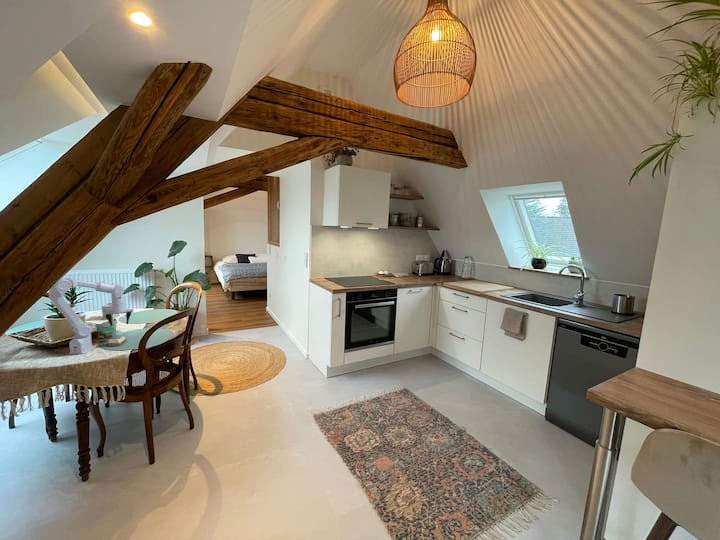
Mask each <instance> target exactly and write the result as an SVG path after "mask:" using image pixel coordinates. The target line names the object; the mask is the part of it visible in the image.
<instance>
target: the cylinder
mask: <svg viewBox="0 0 720 540" xmlns="http://www.w3.org/2000/svg"><path fill="white" fill-rule="evenodd" d="M121 337H123V335H122V331H121V330H116V331H113V332H112V337H111V338H112V339H119V338H121Z"/></svg>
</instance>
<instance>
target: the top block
mask: <svg viewBox="0 0 720 540" xmlns="http://www.w3.org/2000/svg"><path fill="white" fill-rule="evenodd" d="M125 337H126V336H122V337H121V338H119V339H112V337H110V338H109V339H108V343H120V342H122V341H123V340H125V339H126V338H125Z"/></svg>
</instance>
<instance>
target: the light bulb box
mask: <svg viewBox="0 0 720 540" xmlns="http://www.w3.org/2000/svg"><path fill="white" fill-rule="evenodd" d="M107 311H112V302H108V303H106V304H105V305H103V306H101V313H102V321H108V320H107V318H106V316H103V312H107ZM120 315H121V314H113V315H112V320H114V319H117V318H119V316H120Z"/></svg>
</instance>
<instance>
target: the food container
mask: <svg viewBox="0 0 720 540" xmlns="http://www.w3.org/2000/svg"><path fill="white" fill-rule="evenodd" d="M112 324H113V326H111V325H110V323H109V321H108V320H107V321H104V322H102V323H95V328H96V331H97V336H98V339H102V340H103V339H104V340H105V339H111V338H112V332H113V331H117V324H118V320H117V318H115V319H113V320H112Z"/></svg>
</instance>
